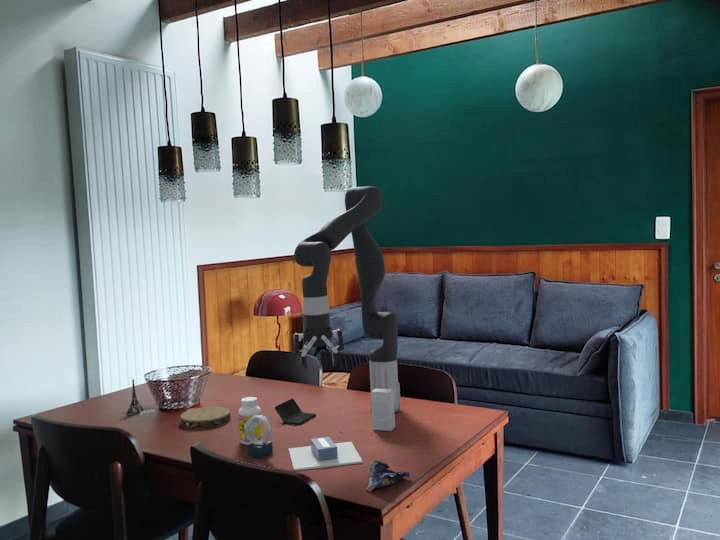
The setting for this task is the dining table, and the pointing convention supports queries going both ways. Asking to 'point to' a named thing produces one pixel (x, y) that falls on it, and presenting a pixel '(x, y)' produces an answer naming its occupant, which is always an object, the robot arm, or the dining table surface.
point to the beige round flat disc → (205, 417)
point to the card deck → (324, 449)
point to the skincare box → (383, 409)
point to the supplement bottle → (245, 414)
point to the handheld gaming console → (292, 413)
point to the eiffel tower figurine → (136, 406)
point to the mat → (307, 460)
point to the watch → (258, 446)
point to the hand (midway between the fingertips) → (319, 367)
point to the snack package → (383, 475)
